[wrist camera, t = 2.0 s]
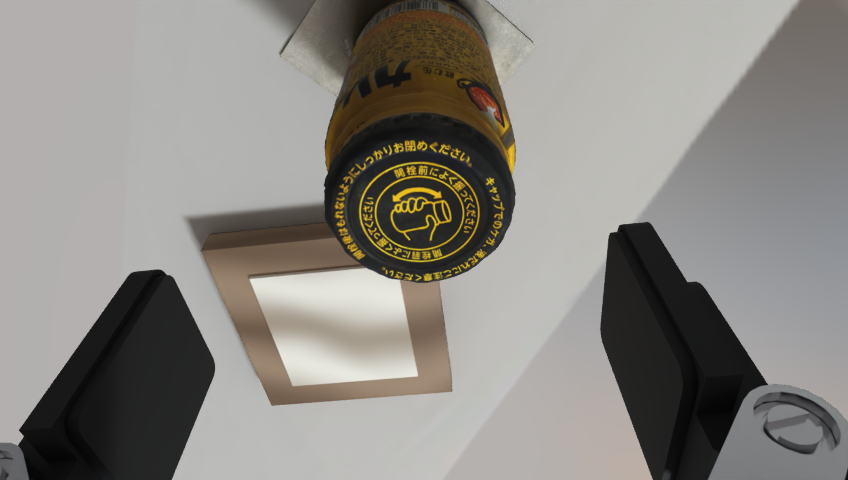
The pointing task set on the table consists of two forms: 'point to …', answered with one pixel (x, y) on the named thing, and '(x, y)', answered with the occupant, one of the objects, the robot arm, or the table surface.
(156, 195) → the table surface
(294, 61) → the condiment
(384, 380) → the picture frame
